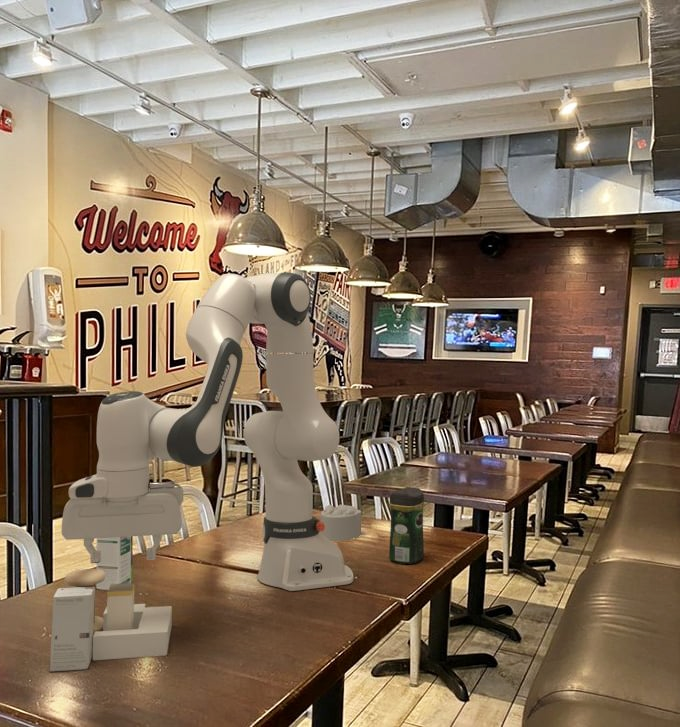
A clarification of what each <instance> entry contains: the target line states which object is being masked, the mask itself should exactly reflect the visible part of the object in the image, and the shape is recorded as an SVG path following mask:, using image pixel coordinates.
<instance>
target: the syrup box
mask: <svg viewBox="0 0 680 727" xmlns="http://www.w3.org/2000/svg"><path fill="white" fill-rule="evenodd" d="M133 537H134V536H131V537H112V538H96V551H101V555H100V556H101V561H100V563H95V564H96V568H95V569H99V570H102V571H104V572H105V579H104V581H102V582H100V583H98V584H95V589H97V590H101V591H108V589H109V587H110V585H111V584H126V583H134V582H133V580H134V578H133V571H134V570H133V557H134V556H133V545H134V544H133V543H134V540H133V539H134V538H133Z"/></svg>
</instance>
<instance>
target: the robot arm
mask: <svg viewBox="0 0 680 727" xmlns="http://www.w3.org/2000/svg"><path fill="white" fill-rule="evenodd" d="M311 299H312V294H311V290H310V286H309V284H308V283H307V281H306V279H305V278H304V277H303V276H302V275H300V274H297V273H294V272H288V271H285V272H284V271H283V272H279V273H277V272H269V273H268V272H267V273H259V274H256V275H251V276H247V277H244V276H242V275H240V274H236V273H225V274H222V275H221V276H219V277H218V278H217V279H216V280H215V281H214V282H213V283H212V284H211V286H210V287H209V288H208V290H206V292H205V294H204V295H203V296H202V298H201V300H200V301H199V303H198V304H197V306H196V308H195V310H194V312H193V313H192V315H191V317H190V320H189V322H188V323H187V327H186V331H185V338H186V343H187V344H188V346H189V348H190V350H191V351H192V352H193V354H194V355H196V356H197V357H198V358H199V359H200V360H202V361H203V362H204V363H206V364H207V371H206V374H205V376H204V379H203V382H202V384H201V388H200V390H199V393H198V396H197V399H196V401H195V402H194V404H193V405H192V406H190V407H188V408H186V409H183V408H182V409H181V408H179V409H178V408H173V407H172V408H171V407H166V406H165V405H162V404H159V403H156V402H155V401H153V400H152V399H150V398H148V397H147V396H146V395H145V394H144V393H143V392H142V391H137V390H135V391H134V390H132V391H128V390H127V391H123V392H116V393H113V394H111V395H108V396H106V397H105V398H103V399H102V401H101V403H100V404H99V407H98V411H97V421H96V445H97V451H98V459H97V460H98V461H97V464H96V474H93V475H91V476H86V477H84V478H81V479H78V480H77V481H75V482H73V483H72V484H71V485H70V486H69V488H68V497H69V498H70V499H69V500H68V501H67V502H66V504H65V506H64V508H63V512H62V519H61V535H62V537H64V539H65V540H66V541H69V540H70V541H71V540H83V546H84V548H85V549H86V551H87V553H88V554H89V555H90V564H96V563H100V561H101V556H100V555H101V551H96V549H97V548H96V549H95V546H94V545H93V543H94V541H95V539H97V538H112V537H131V536H133V537H143V536H144V537H145V536H147V537H148V536H152V541H153V542H154V543H153V545H152V547H147V548H146V560H147V561H155V560H156V557H157V549H158V547H159V546H160V543H161V542H162V539H163V536H164V535H177V534H179V532H180V531H181V529H182V526H183V519H182V518H183V517H182V509H181V505H182V504H183V503H184V489H183V487H182V486H181V485H180V484H179V483H176V482H175V481H166V482H162V481H161V482H160V481H155V482H154V481H150V459H151V458H155V459H160V460H163V461H164V460H165V461H171V462H176V463H179V464H181V465H186V466H189V467H192V468H195V467H201V466H203V465H206V464H207V463H209V462H210V461H211V460H212V459H213V458H214V457H215V456H216V454H217V453H218V451H219V450H220V449H221V448H220V447H221V444H222V442H223V434H224V426H225V421H226V417H227V414H228V411H229V407H230V405H231V401H232V399H233V398H232V397H233V395H234V392H235V389H236V386H237V383H238V378H239V375H240V372H241V368H242V364H243V359H244V358H243V356H244V355H243V349H242V347H241V343H242V340H243V337H244V335H245V333H246V331H247V329H248V326H249V324H258V325H261V324H262V325H263V324H264V325H265V327H266V330H267V334H266V348H265V351H266V354H265V358H266V359H265V361H266V364H265V365H266V366H265V368H266V371H265V372H266V373H265V375H266V376H265V377H266V379H265V380H266V386H267V388H268V390H269V391H270V393H272V394H273V395H275V397H277V399H278V401H279V403H280V405H281V408H282V410H267V411H262V412H256V413H254V414H252V415H251V416H250V417H249V418H248V419H247V420H246V423H245V425H244V429H243V439H244V442H245V445H246V447H247V448H248V449H249V450H250V451H251V452H252V453H253V455H254V456H255V458H256V460H257V462H258V464H259V467H260V470H261V472H262V473H261V474H262V478H263V481H264V487H265V490H264V491H265V494H264V495H265V516H264V518H263V523H262V539H263V540H262V541H263V543H264V544H263V551H262V556H261V557H262V558H261V562H260V566H259V571H258V573H257V576H256V577H257V580H258V581H259V582H260V583H262V584H265V585H266V586H267V585H268V586H271V587H276V588H281V589H284V590H286V591H289V592H294V591H296V592H297V591H302V590H303V591H304V590H311V589H318V588H328V587H335V586H344V585H349V584H352V583H353V582H354V579H355V578H354V572H353V570H352V569H351V568H350V567H349V566H348V565H346V564H345V561H344V556H343V553H342V551H341V549H340V547H339V546H338V545H337V544H335V543H334V542H331V541H330V540H329V539H328V538H326V537H325V536H324V535H323V534H321V533H320V532H322V531H324V530H323V529H325V525H324V523H323V522H321V521H320V520H321V519H319V518H317V517H316V516H314V515H313V508H314V507H313V505H314V504H313V503H314V502H313V500H314V499H313V498H314V497H313V496H314V494H313V493H314V491H313V489H314V487H313V484H312V482H311V480H310V479H309V478H308V477H307V476H306V475H305V474H304V473H303V472H302V470H301V468H300V465H299V462H298V461H304V462H315V461H324V460H328V459H330V458H331V457H333V455H334V454H335V453H336V451H337V449H338V447H339V444H340V431H339V428H338V426H337V423H336V422H335V421H334V420H333V419H332V418H331V416H329V415H328V414H327V412H326V411H325V410H324V408H323V406H322V404H321V402H320V400H319V397H318V394H317V390H316V386H315V373H314V343H313V342H314V341H313V340H314V339H313V331H312V326H311V321H310V316H309V314H308V312H309V309H310V307H311V303H312V302H311V301H312V300H311Z"/></svg>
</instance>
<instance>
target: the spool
mask: <svg viewBox="0 0 680 727" xmlns="http://www.w3.org/2000/svg"><path fill="white" fill-rule="evenodd" d="M104 579H105V572H104V571H102V570H99V569H96V568H84V569H77V570H73V571H71V572H69V573H67V574H66V575H64V584H65V585H66V586H69V587H95V588H96V584H98V583H100V582H102V581H104ZM95 607H96V597H95V598H94V621H93V635H94V633H95V632H98V631H103V616H102V617H101V616H99V615H95V611H96V610H95V609H96V608H95Z"/></svg>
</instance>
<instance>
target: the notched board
mask: <svg viewBox="0 0 680 727" xmlns="http://www.w3.org/2000/svg"><path fill="white" fill-rule="evenodd" d="M172 607H173V606H171V605H170V606H168V605H167V606H166V605H165V606H150V607H149V606H147V607H146V603H134V629H131V630H114V631H107V606H106V607H105V609H104V612H103V614H102V615H103V616H102V618H103V629H102V630H100V631H98V632H95V633H94V634H93V644H92V661H103V660H104V661H105V660H117V659H118V660H121V659H132V658H133V659H134V658H148V657H163V656H164V657H165V656H167V655H168V650H169V645H170V644H169V643H170V638H171V632H172V631H171V630H172V620H173V619H172V617H173V616H172V613H173V610H172V609H173V608H172Z"/></svg>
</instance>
